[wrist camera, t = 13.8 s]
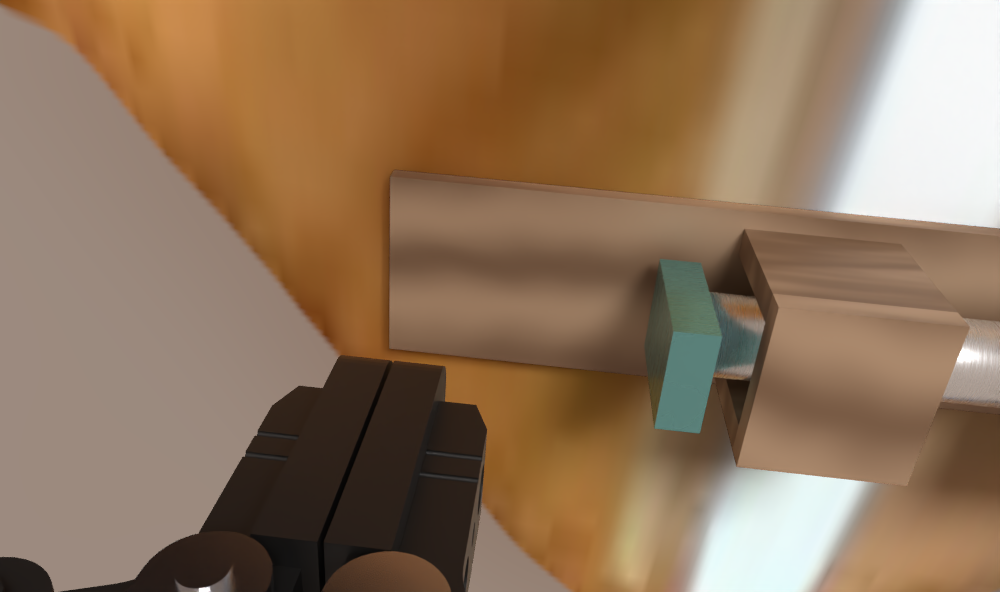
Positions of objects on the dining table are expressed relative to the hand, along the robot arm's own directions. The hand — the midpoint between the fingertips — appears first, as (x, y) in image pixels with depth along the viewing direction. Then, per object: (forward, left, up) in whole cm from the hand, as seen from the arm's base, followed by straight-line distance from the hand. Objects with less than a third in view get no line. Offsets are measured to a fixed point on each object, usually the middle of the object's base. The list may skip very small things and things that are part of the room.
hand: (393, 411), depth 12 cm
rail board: (+12, +16, -29) cm, 35 cm away
